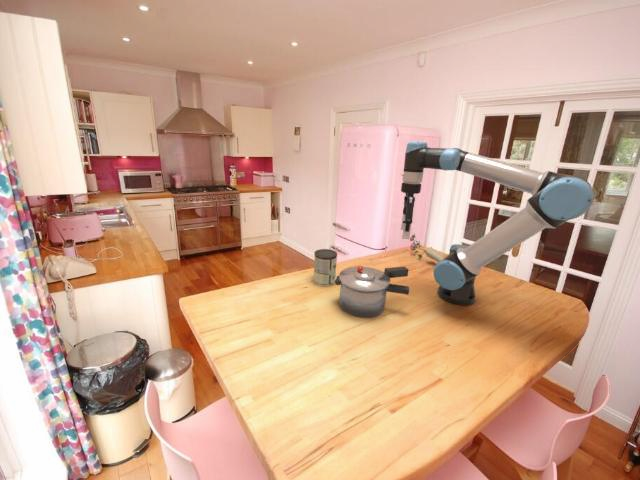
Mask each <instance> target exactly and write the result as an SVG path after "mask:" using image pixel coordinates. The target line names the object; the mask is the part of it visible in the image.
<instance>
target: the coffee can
mask: <svg viewBox="0 0 640 480" xmlns="http://www.w3.org/2000/svg"><path fill="white" fill-rule="evenodd" d="M313 255H314V261H313V262H314V265H313V266H314V267H313V283H314V284H315V285H317V286H321V287H330V286H333V285H335V280H336V278H337V276H336V275H337V274H336V273H337V260H338V252H337V251H336V250H333V249H328V248H321V249H316V250H315V251H314V254H313Z"/></svg>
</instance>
